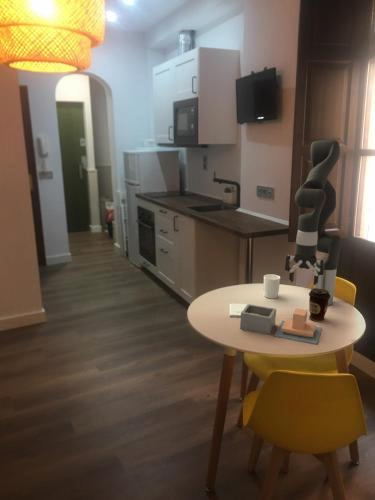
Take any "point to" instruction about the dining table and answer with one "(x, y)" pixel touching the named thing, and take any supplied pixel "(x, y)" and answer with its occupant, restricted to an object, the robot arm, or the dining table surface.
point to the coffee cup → (318, 304)
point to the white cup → (271, 285)
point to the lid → (299, 324)
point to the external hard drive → (236, 309)
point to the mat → (299, 338)
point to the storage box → (258, 319)
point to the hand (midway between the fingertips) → (303, 282)
